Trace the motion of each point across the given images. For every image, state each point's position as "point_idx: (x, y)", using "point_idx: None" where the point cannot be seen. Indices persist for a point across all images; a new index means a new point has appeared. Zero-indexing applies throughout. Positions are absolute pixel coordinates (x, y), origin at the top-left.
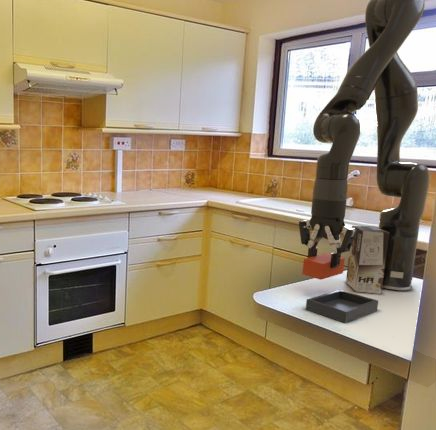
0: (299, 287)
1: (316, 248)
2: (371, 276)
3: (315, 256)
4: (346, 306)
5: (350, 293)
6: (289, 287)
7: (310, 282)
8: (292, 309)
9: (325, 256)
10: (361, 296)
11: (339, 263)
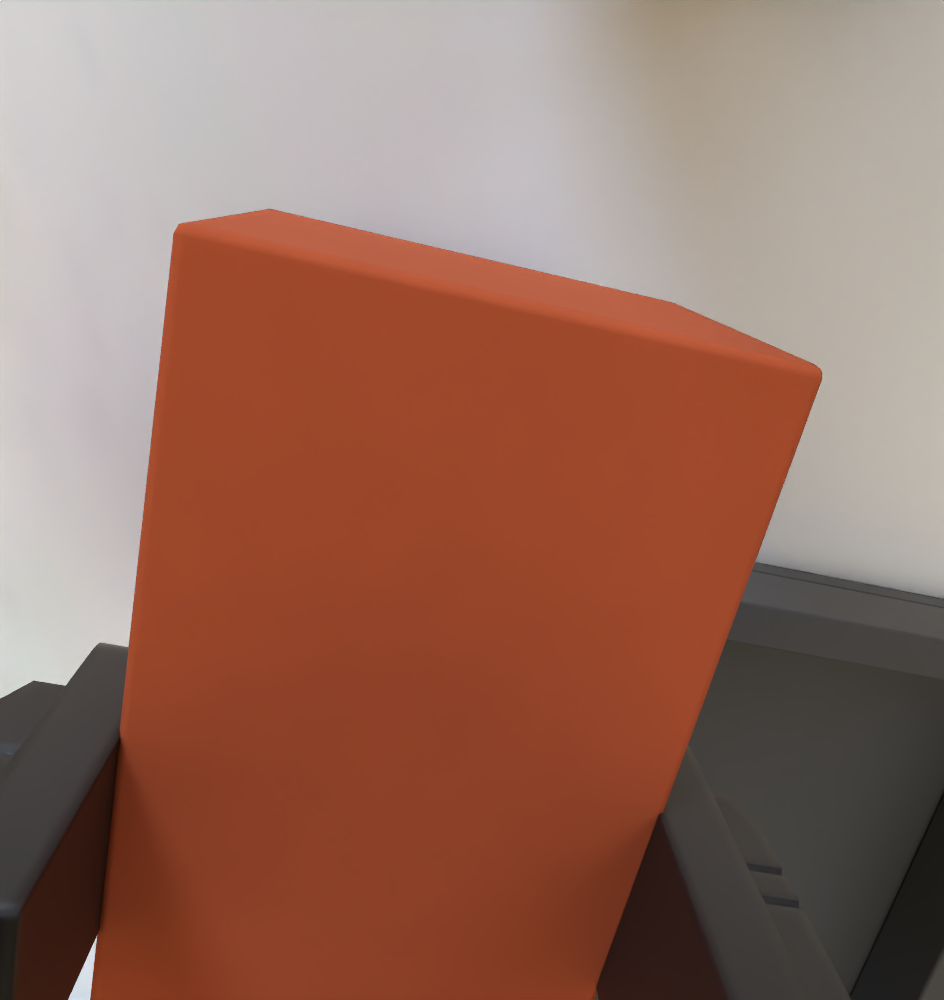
0: (90, 435)
1: (17, 971)
2: None
3: (144, 848)
4: (773, 810)
5: (808, 648)
6: (7, 541)
7: (57, 10)
8: None
9: (332, 647)
10: (939, 669)
11: (761, 859)
